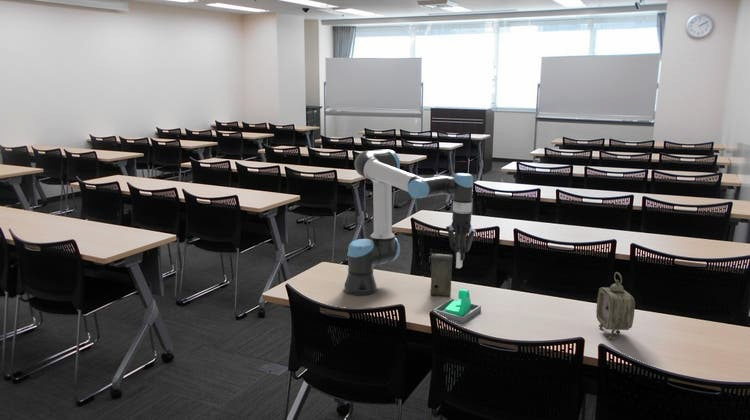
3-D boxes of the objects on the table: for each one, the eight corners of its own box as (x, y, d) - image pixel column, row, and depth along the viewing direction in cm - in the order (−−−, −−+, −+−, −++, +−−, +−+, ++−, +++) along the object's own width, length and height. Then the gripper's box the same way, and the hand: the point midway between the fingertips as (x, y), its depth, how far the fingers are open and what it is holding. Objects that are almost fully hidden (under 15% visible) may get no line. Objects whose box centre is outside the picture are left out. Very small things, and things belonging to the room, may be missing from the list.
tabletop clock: (594, 326, 227) (600, 266, 222) (617, 326, 227) (623, 267, 222) (607, 341, 213) (614, 278, 208) (632, 342, 213) (639, 279, 207)
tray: (432, 315, 235) (433, 309, 235) (451, 303, 248) (451, 298, 248) (463, 323, 227) (463, 317, 227) (480, 311, 240) (481, 305, 240)
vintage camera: (450, 287, 271) (451, 246, 267) (451, 297, 256) (452, 254, 252) (430, 286, 272) (430, 246, 268) (430, 296, 256) (430, 254, 253)
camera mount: (453, 305, 245) (454, 283, 242) (470, 308, 241) (471, 286, 239) (444, 315, 234) (445, 291, 232) (462, 318, 231) (463, 294, 229)
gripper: (443, 210, 229) (440, 266, 234) (472, 215, 222) (469, 272, 227) (452, 208, 235) (449, 262, 240) (480, 212, 228) (477, 268, 233)
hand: (459, 267), depth 234 cm, fingers closed
